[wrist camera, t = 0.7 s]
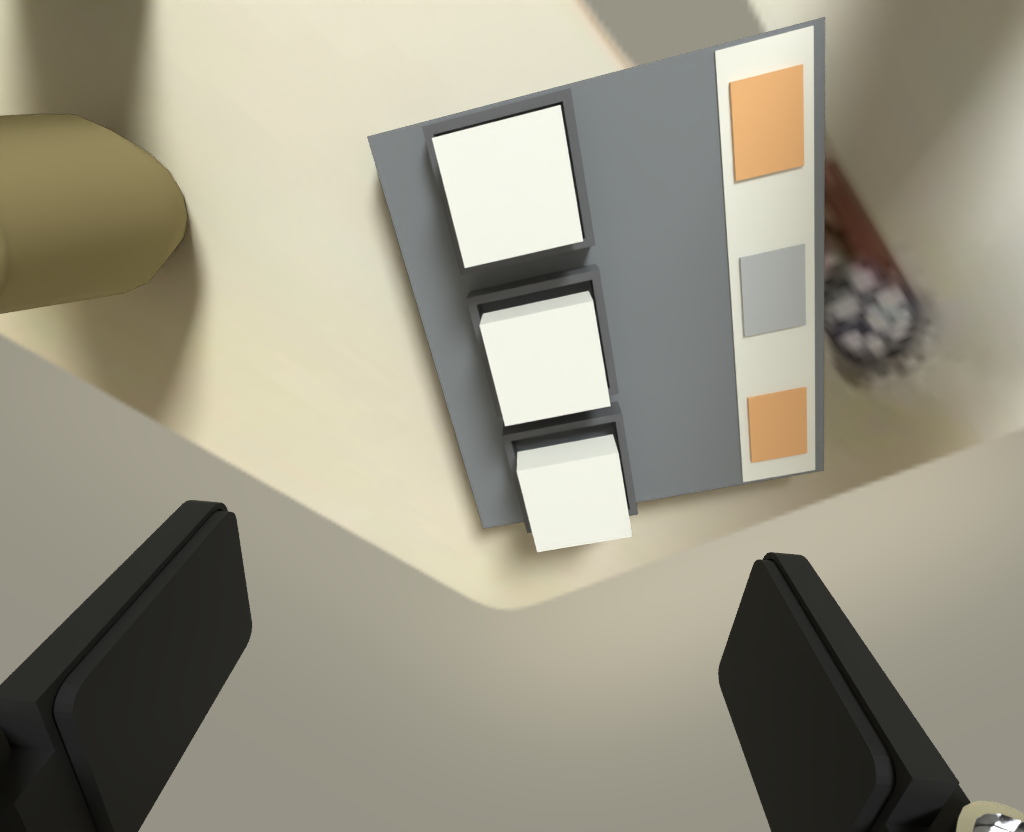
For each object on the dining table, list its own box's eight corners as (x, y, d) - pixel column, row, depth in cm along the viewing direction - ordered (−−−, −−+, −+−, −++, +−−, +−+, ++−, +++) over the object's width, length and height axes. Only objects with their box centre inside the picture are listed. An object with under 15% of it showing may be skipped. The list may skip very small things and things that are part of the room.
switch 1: (558, 109, 23) (560, 104, 21) (579, 235, 25) (583, 241, 23) (439, 139, 23) (431, 138, 21) (469, 260, 25) (464, 268, 23)
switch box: (793, 32, 26) (844, 7, 22) (800, 446, 35) (837, 485, 30) (382, 139, 28) (357, 135, 24) (486, 501, 37) (481, 544, 33)
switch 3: (612, 434, 29) (618, 452, 27) (626, 514, 31) (632, 536, 29) (517, 451, 29) (516, 471, 27) (536, 529, 31) (537, 552, 29)
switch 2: (588, 290, 26) (593, 300, 24) (605, 389, 28) (610, 406, 26) (482, 313, 26) (479, 325, 24) (506, 409, 28) (505, 426, 26)
